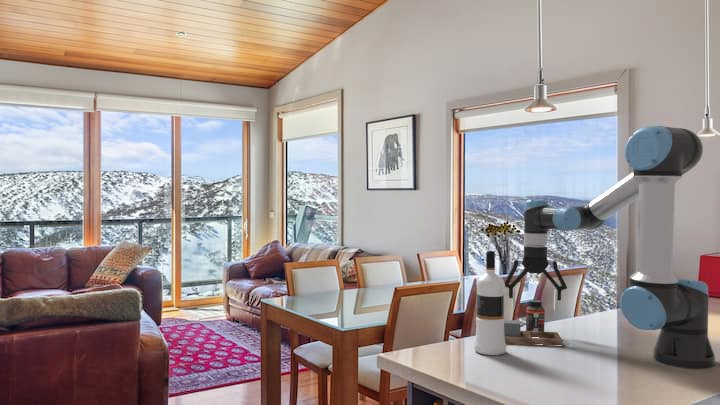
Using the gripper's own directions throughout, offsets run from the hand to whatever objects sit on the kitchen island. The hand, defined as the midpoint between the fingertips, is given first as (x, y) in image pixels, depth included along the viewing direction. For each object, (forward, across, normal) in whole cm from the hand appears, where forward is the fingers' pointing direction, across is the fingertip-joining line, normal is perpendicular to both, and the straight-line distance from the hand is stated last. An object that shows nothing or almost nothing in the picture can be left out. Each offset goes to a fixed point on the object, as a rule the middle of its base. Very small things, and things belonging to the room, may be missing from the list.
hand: (534, 309), depth 193 cm
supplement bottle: (+9, 0, 0) cm, 9 cm away
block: (+8, +8, +10) cm, 15 cm away
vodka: (+8, +15, +26) cm, 31 cm away
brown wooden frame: (+8, +3, +10) cm, 13 cm away
